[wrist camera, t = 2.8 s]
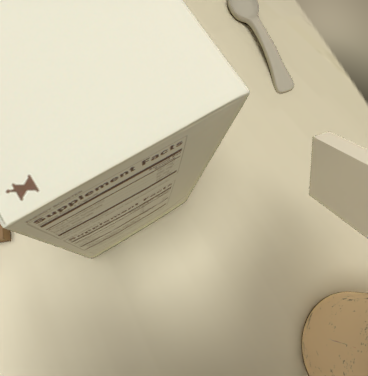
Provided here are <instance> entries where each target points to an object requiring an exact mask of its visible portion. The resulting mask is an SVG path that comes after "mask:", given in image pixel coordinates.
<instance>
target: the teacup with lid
mask: <svg viewBox="0 0 368 376" xmlns="http://www.w3.org/2000/svg"><path fill="white" fill-rule="evenodd" d="M302 351H303V358H304V362H305V366H306V369H307V372H308V374H309V376H368V293H359V292H340V293H336V294H333V295H330V296H328V297H326V298H325V299H323V300H322V301H321V302H320V303H318V304H317V306H316V307H315V308H314V309H313V310H312V312H311V313H310V315H309V317H308V319H307V321H306V324H305V327H304V331H303V338H302Z"/></svg>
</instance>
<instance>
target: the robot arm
mask: <svg viewBox="0 0 368 376" xmlns="http://www.w3.org/2000/svg"><path fill="white" fill-rule="evenodd" d="M309 195H310V196H311V197H313V198H314V199H315V200H317V201H318V202H319V203H321V204H322V205H323V206H325V207H326V208H327V209H329V210H330V211H331V212H333V213H334V214H335V215H337V216H338V217H339V218H341V219H342V220H343V221H345V222H346V223H347V224H349V225H350V226H351V227H353V228H354V229H355V230H357V231H358V232H359V233H361V234H362V235H363V236H365V237H366V238H367V239H368V149H366V148H364V147H362V146H360V145H358V144H356V143H354V142H351V141H349V140H347V139H345V138H343V137H341V136H339V135H336V134H334V133H332V132H330V131H328V132H325V133H322V134H319V135H316V136H313V139H312V155H311V170H310V186H309Z"/></svg>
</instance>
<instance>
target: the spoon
mask: <svg viewBox="0 0 368 376" xmlns="http://www.w3.org/2000/svg"><path fill="white" fill-rule="evenodd" d="M227 3H228V7H229V10H230V12H231V13H232V15H233V16H234V17H235V18H236V19H237V20H239V21H241V22H245V23H247V24H248V25H249V26H250V27H251V28H252V30H253V31H254V33H255V35H256V37H257V38H258V40H259V42H260V44H261V47H262V49H263V51H264V54H265V57H266V60H267V63H268V66H269V69H270V73H271V77H272V81H273V85H274V88H275V90H276V92H277V93H280V94H281V93H285V92H288V91H290V90H292V89H293V87H294V83H293V80H292V78H291V76H290V74H289V72H288V71H287V69H286V67H285V65H284V63H283V61H282V59H281V57H280V55H279V52H278V50H277V48H276V46H275V44H274V42H273V40H272V39H271V37H270V35H269V34H268V32H267V30H266V29H265V27H264V26H263V24H262V22H261V21H260V19H259V16H258V12H259V5H258V1H257V0H227Z"/></svg>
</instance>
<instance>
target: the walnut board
mask: <svg viewBox="0 0 368 376" xmlns="http://www.w3.org/2000/svg"><path fill="white" fill-rule="evenodd" d="M6 241H11V235H10V230H7V229H5V228H3V227H2V226H1V224H0V242H6Z"/></svg>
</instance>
